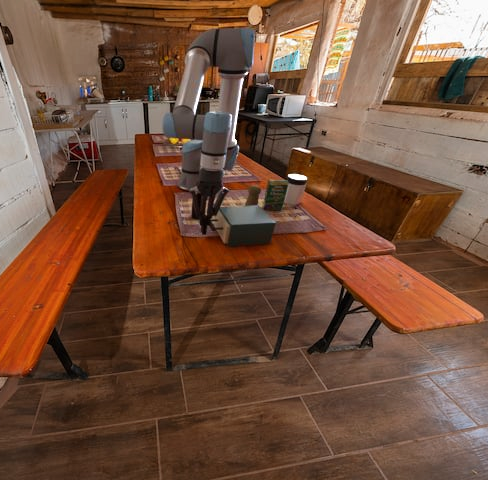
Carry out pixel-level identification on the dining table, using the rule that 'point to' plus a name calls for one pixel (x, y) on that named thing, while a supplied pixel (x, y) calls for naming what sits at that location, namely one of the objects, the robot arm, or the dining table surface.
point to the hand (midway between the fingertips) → (203, 232)
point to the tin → (198, 205)
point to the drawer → (221, 227)
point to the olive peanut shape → (253, 195)
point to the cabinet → (248, 225)
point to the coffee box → (275, 194)
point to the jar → (295, 189)
